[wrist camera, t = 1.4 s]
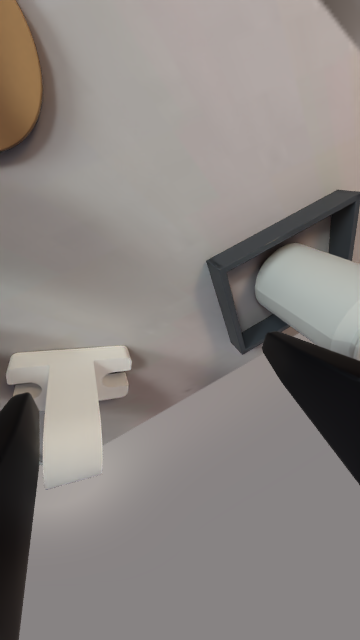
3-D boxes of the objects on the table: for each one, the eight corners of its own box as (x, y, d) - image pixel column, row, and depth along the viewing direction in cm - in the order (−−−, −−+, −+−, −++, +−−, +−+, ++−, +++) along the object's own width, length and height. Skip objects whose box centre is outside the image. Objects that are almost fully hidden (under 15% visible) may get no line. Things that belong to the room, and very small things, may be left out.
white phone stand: (9, 353, 20) (-30, 476, 12) (128, 345, 24) (157, 432, 16) (17, 397, 22) (-10, 523, 14) (124, 383, 26) (147, 475, 18)
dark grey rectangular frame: (230, 342, 29) (242, 355, 27) (205, 260, 22) (219, 270, 20) (330, 284, 31) (347, 292, 29) (337, 189, 23) (362, 191, 21)
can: (300, 293, 29) (407, 353, 20) (248, 312, 28) (339, 387, 18) (311, 232, 25) (455, 273, 16) (250, 251, 23) (371, 309, 14)
